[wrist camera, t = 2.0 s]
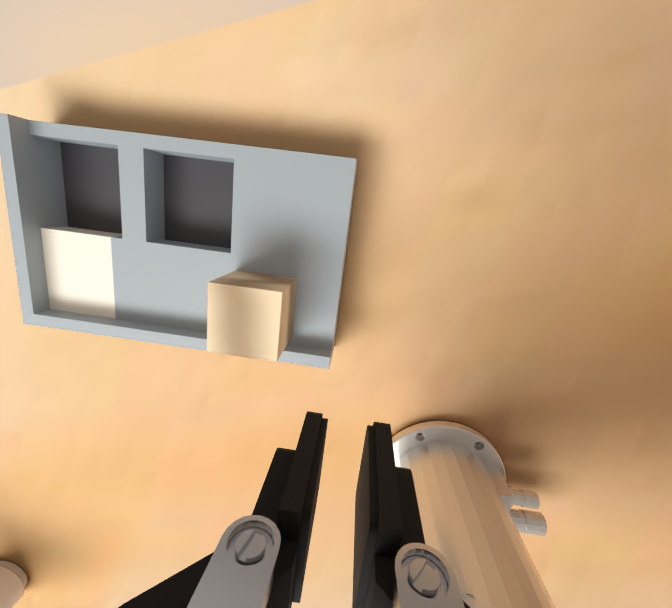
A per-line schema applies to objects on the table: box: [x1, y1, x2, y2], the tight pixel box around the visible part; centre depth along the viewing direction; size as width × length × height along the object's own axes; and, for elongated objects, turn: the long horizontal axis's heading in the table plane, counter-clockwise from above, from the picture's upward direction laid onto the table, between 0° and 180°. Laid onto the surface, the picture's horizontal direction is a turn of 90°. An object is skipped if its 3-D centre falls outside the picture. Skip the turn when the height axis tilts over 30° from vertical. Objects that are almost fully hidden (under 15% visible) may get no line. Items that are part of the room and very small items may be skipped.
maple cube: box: [207, 270, 297, 362], centre depth 25 cm, size 5×5×5 cm
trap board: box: [0, 113, 357, 369], centre depth 27 cm, size 26×16×4 cm, turn 83°
